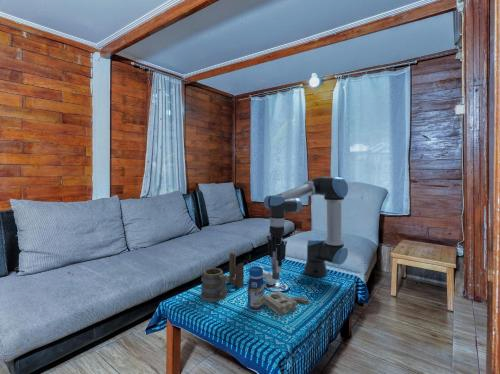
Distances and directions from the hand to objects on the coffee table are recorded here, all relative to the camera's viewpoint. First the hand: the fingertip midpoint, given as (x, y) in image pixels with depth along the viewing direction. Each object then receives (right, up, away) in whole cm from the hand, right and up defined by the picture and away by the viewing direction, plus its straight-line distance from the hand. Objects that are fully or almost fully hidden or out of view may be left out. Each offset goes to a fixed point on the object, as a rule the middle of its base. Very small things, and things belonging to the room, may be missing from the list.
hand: (276, 270), depth 140 cm
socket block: (+1, -17, -1) cm, 17 cm away
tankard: (-31, -17, +5) cm, 36 cm away
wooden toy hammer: (-22, -16, +24) cm, 36 cm away
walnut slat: (+13, -18, +4) cm, 22 cm away
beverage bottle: (-11, -18, -4) cm, 21 cm away
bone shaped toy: (-4, -16, +29) cm, 33 cm away
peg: (0, -4, 0) cm, 4 cm away
